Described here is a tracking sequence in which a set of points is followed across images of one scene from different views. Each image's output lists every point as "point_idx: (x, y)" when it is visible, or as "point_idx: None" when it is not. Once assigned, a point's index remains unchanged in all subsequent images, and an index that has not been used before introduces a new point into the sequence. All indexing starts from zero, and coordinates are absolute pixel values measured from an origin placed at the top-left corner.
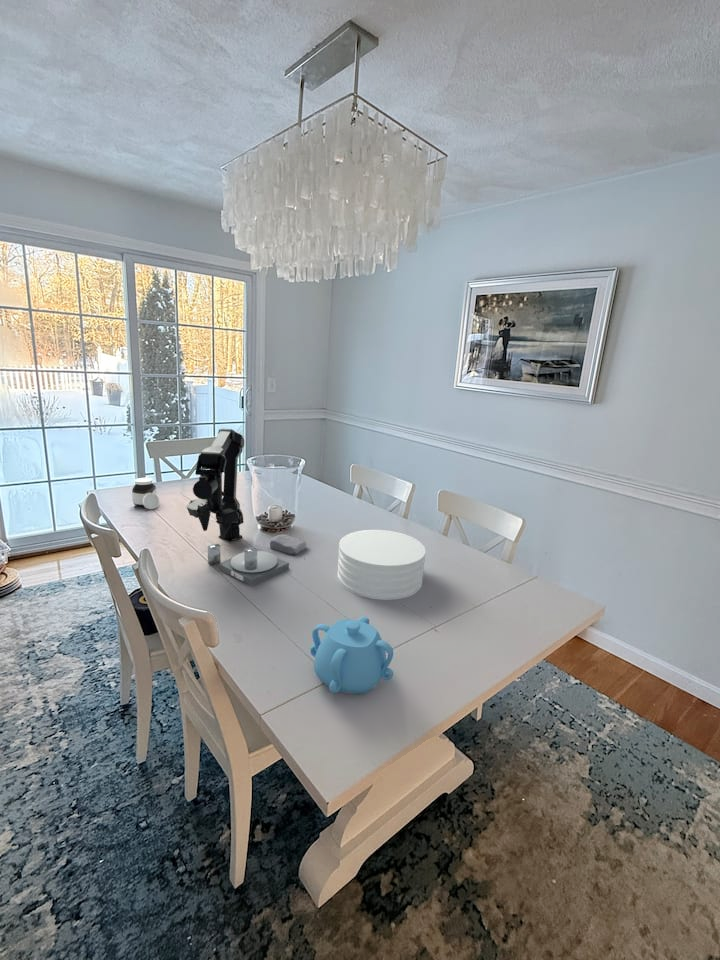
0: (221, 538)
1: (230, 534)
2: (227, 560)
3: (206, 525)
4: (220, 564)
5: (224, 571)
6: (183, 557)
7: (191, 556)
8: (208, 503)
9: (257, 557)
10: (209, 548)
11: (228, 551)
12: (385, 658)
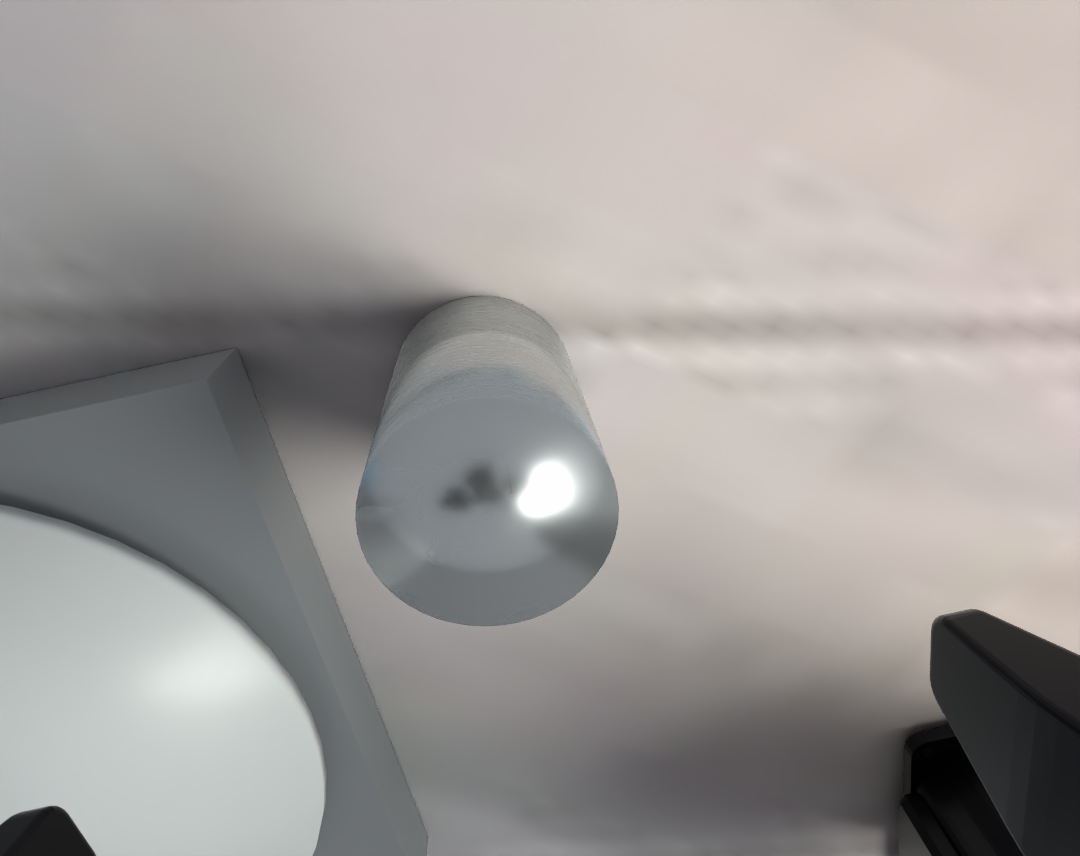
0: (18, 814)
1: (981, 826)
2: (260, 529)
3: (1054, 836)
4: (157, 391)
5: (95, 380)
6: (944, 56)
7: (884, 186)
8: None
9: None
10: (436, 406)
11: (685, 642)
12: None
